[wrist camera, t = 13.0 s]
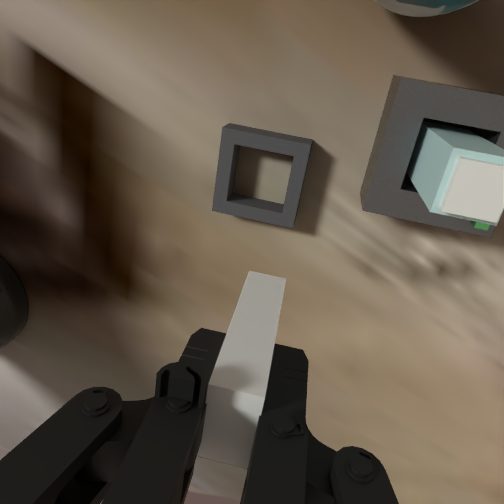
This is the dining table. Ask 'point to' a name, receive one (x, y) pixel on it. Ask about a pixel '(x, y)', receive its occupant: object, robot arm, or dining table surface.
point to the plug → (458, 173)
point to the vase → (424, 6)
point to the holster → (252, 206)
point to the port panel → (403, 141)
